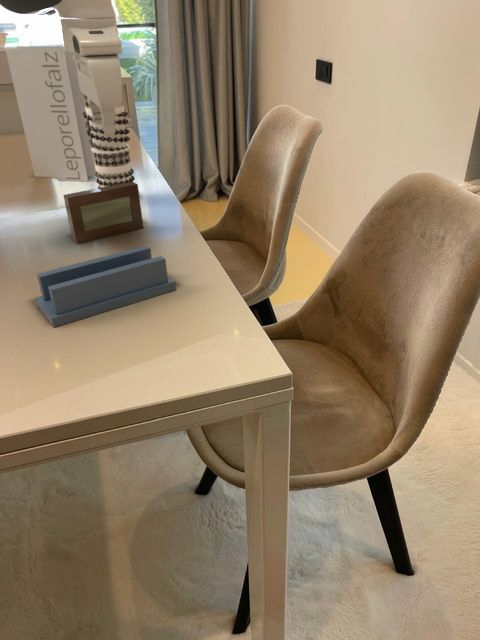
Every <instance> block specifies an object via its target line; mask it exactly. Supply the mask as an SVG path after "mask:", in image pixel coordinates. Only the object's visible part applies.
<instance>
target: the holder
mask: <svg viewBox="0 0 480 640" xmlns="http://www.w3.org/2000/svg"><path fill="white" fill-rule="evenodd" d="M36 277H37V281H38V285H39V289H40V292H41V293H40V294H41V295H40V296H37V297H35V298H34V301H35V305H36V307H37V309H38V310H39V311H40V312H41V313H42V315H43V316H44V318H45V319H46V320H47V321H48V322H49V324H51V326H52V327H53V328H57V327H60V326H64V325H66V324H70V323H73V322H76V321H79V320H83V319H87V318H89V317H92V316H96V315H99V314H102V313H105V312H108V311H113V310H115V309H118V308H122V307H125V306H128V305H131V304H134V303H138V302H141V301H144V300H148V299H151V298H154V297H158V296H160V295H164V294H167V293H170V292H173V291H176V290H177V283H176V280H175V279H173V278H172V277H170V276H169V275H168V269H167V261H166V258H165V257H164V256H162V255H159V256H155V257H152V250H151V247H149V246H148V245H142V246H139V247H135V248H131V249H128V250H124V251H120V252H116V253H112V254H108V255H104V256H101V257H97V258H93V259H89V260H84V261H81V262H76V263H73V264H69V265H66V266H62V267H57V268H54V269H49V270H46V271H42V272H37V273H36Z"/></svg>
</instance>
